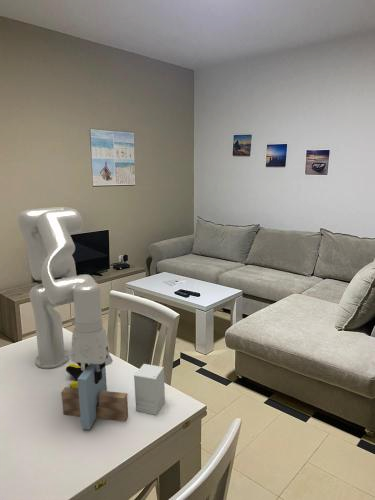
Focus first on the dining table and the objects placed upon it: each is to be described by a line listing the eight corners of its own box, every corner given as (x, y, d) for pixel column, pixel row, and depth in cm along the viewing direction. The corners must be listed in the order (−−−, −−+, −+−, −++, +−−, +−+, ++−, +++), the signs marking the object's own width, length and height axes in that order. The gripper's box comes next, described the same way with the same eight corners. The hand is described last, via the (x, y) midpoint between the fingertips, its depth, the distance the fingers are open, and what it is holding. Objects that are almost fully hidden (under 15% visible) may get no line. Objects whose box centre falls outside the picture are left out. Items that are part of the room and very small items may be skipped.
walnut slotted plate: (63, 414, 118) (61, 391, 116) (67, 409, 120) (65, 387, 118) (125, 421, 114) (124, 398, 112) (128, 416, 117) (127, 393, 115)
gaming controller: (71, 400, 125) (101, 393, 129) (69, 385, 123) (100, 378, 127) (66, 377, 138) (94, 370, 142) (64, 363, 137) (93, 357, 141)
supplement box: (165, 401, 124) (165, 366, 121) (156, 415, 117) (155, 379, 114) (145, 397, 126) (143, 362, 123) (134, 410, 119) (133, 374, 116)
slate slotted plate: (100, 398, 124) (97, 353, 120) (107, 399, 123) (104, 354, 120) (81, 427, 110) (77, 378, 107) (89, 428, 110) (85, 379, 106)
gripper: (56, 328, 108) (62, 385, 112) (111, 332, 105) (114, 390, 110) (68, 317, 115) (73, 371, 119) (120, 320, 112) (122, 376, 117)
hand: (93, 380), depth 114 cm, fingers closed on slate slotted plate, 2 cm apart
